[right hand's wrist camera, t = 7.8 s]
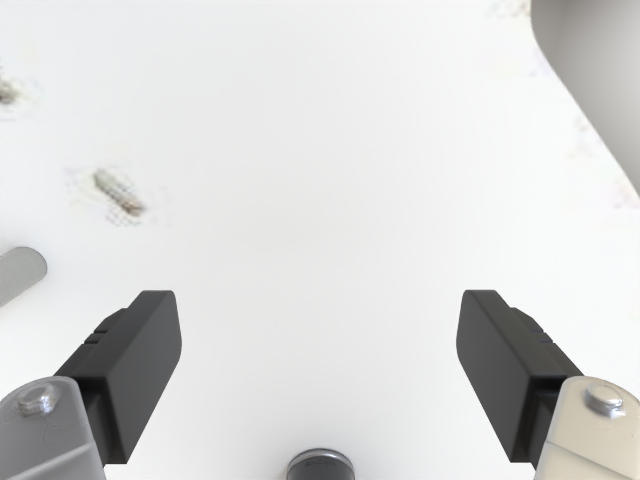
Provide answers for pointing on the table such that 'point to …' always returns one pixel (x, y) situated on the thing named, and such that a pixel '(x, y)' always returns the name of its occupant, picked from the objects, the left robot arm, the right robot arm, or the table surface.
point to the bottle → (19, 272)
